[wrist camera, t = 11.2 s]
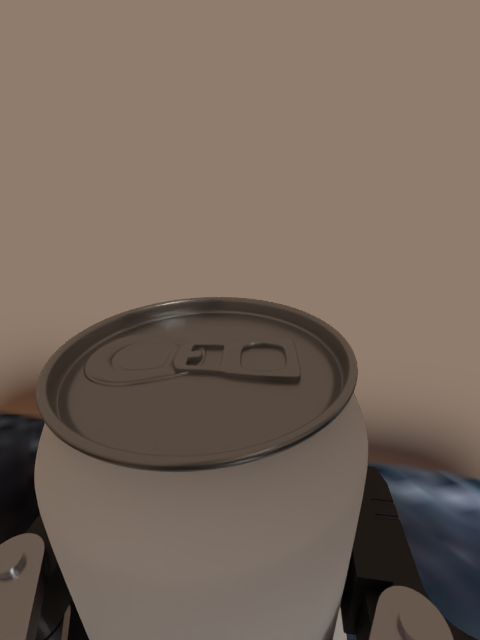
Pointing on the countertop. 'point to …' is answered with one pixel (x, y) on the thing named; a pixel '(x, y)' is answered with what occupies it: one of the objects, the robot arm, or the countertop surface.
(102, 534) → the can
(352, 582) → the robot arm
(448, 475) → the countertop surface
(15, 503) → the countertop surface
